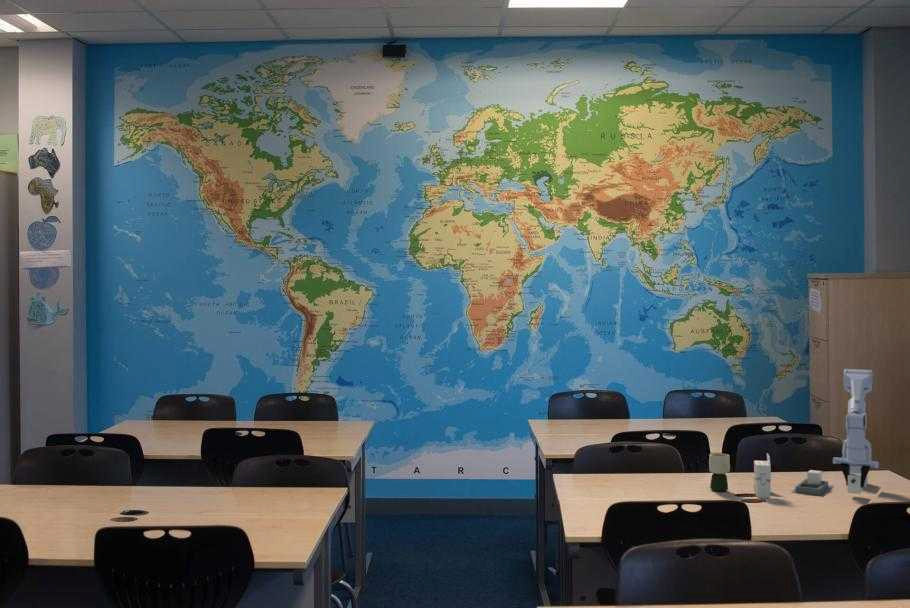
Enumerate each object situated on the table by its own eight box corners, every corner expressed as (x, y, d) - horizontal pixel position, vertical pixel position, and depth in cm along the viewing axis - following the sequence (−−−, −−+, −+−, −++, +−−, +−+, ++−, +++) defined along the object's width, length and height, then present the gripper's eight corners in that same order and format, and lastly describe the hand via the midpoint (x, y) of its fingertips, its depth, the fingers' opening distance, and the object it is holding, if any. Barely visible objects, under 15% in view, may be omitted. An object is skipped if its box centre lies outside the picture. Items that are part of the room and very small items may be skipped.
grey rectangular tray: (803, 484, 340) (803, 476, 340) (834, 488, 334) (834, 480, 334) (790, 495, 324) (790, 486, 324) (823, 499, 318) (823, 490, 318)
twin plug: (811, 484, 336) (811, 468, 336) (822, 486, 334) (823, 470, 334) (807, 488, 330) (807, 472, 330) (818, 490, 328) (818, 473, 328)
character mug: (737, 492, 327) (737, 456, 327) (721, 494, 324) (721, 458, 324) (717, 486, 337) (717, 451, 337) (701, 488, 334) (701, 453, 334)
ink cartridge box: (753, 492, 328) (753, 451, 328) (767, 493, 327) (768, 452, 327) (756, 497, 320) (756, 456, 319) (770, 498, 319) (771, 456, 318)
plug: (850, 489, 320) (850, 472, 320) (862, 491, 317) (862, 474, 317) (846, 493, 313) (846, 476, 313) (858, 495, 311) (859, 478, 311)
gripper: (831, 447, 317) (830, 485, 317) (876, 451, 309) (875, 491, 309) (835, 443, 323) (834, 481, 323) (879, 448, 315) (879, 487, 315)
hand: (855, 486), depth 316 cm, fingers closed on plug, 4 cm apart
